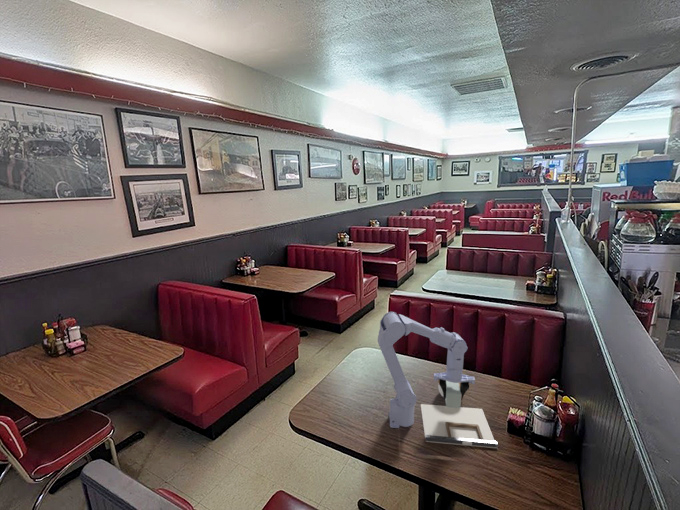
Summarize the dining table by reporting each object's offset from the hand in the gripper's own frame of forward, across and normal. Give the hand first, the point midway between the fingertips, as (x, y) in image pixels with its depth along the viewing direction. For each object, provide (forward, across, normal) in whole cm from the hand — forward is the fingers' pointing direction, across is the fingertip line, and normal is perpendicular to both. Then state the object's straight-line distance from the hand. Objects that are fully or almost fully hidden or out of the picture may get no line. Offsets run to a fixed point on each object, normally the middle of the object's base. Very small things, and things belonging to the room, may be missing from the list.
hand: (452, 397), depth 127 cm
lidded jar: (+9, -1, -13) cm, 16 cm away
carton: (+1, 0, 0) cm, 1 cm away
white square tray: (+9, -1, +4) cm, 10 cm away
